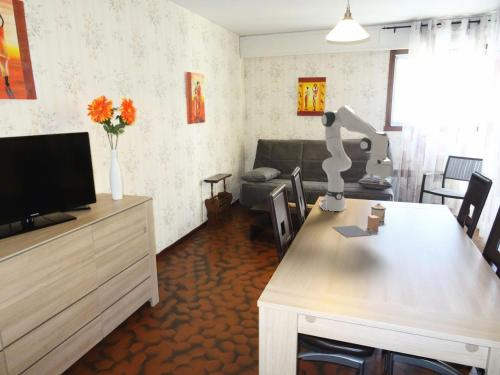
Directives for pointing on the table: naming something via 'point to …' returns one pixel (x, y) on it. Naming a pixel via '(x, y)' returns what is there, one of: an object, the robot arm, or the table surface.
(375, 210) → the teacup with lid
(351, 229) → the charcoal mat
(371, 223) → the terracotta block
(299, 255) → the table surface
